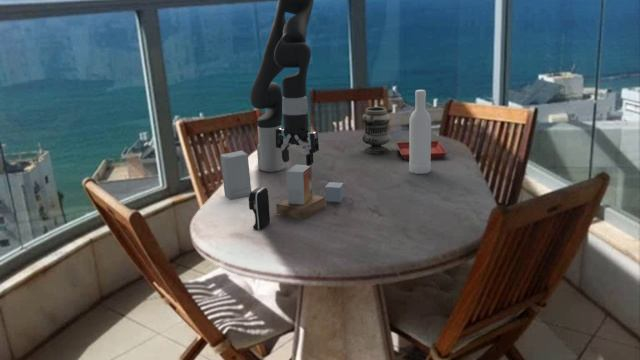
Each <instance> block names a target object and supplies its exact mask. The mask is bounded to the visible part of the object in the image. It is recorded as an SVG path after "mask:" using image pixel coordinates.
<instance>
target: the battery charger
mask: <svg viewBox="0 0 640 360" xmlns="http://www.w3.org/2000/svg"><path fill="white" fill-rule="evenodd" d="M248 209H249V210H251V211H252V212H253V213H254V219H255V221H254V224H253V226H252V228H253V230H258V231H260V230H263V229H264V228H265V227H267V225H268V224H269V223H271V218H270V200H269V190H268V188H267V187H256V188H254V189H253V190H251V193H250V194H249V196H248Z"/></svg>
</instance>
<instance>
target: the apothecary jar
mask: <svg viewBox="0 0 640 360" xmlns="http://www.w3.org/2000/svg"><path fill="white" fill-rule="evenodd" d="M364 112H365V113H364V114H363V115H362V116H361V121H362V122H363V123H364V133H363V134H362V135H361V140H362V142H363V143H364V144H367V145H369V146H368V147H366V148H365V149H364V152H365V153H367V154H383V153H388V151H389V148H387V147H385V146H383V145H386V144H388V143H389V142H390V141H391V139H392V135H391V134H390V133H389V130H388V129H389V128H388V127H389V126H388V123H389V122H390V121H391V119H392V117H391V115H390V113H389V112H388V110H387V108H386V107H384V106H370V107H366V109H365V111H364Z"/></svg>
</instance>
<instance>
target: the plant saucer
mask: <svg viewBox="0 0 640 360" xmlns="http://www.w3.org/2000/svg"><path fill="white" fill-rule="evenodd" d="M395 144H396V146H397V149H398V151H399V153H400V155H401V157H402V158H403V160H407V161H408V160H409V141H406V142H405V141H401V142H396V143H395ZM446 154H447V151H446V149H445V147H444V146H443V145H442V144H441V142H440V141H438V140H435V141H434V140H433V141H432V140H431V160H432V159H434V158H436V159H442V158H443V157H444V156H445V155H446ZM434 160H435V159H434Z"/></svg>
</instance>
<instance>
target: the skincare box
mask: <svg viewBox="0 0 640 360" xmlns="http://www.w3.org/2000/svg"><path fill="white" fill-rule="evenodd" d="M219 157H220V158H219V159H220V168H221V175H222V182H223V183H222V184H223V190H224V195H225V196H226V197H227V198H228V199H229V200H233V199H239V198H243V197H249V194H250V193H251V192H252V185H251V184H252V183H251V175H250V174H251V173H250V163H249V155H248V153H247V152H245V151H243V150H237V151H232V152H228V153H222V154H219Z"/></svg>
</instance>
